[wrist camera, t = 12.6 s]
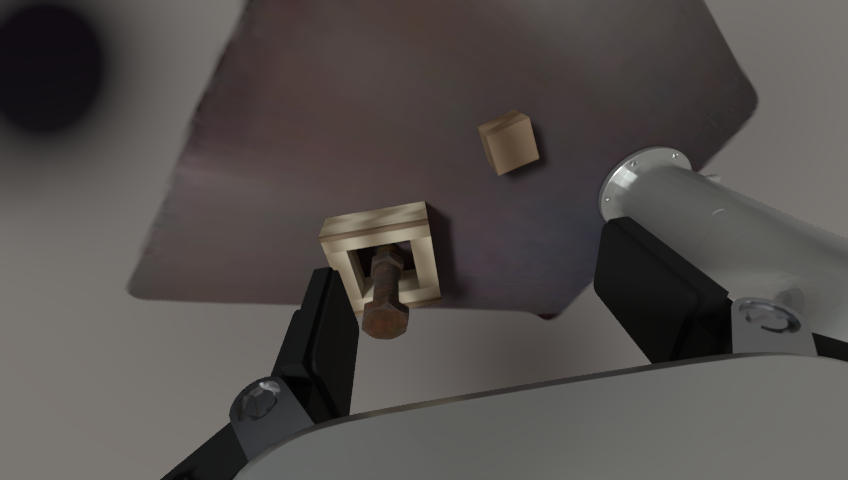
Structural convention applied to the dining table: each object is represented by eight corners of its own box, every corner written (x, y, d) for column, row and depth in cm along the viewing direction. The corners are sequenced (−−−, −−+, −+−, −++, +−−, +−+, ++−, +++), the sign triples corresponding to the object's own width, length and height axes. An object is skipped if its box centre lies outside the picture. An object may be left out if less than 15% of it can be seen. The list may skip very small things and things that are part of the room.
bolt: (413, 248, 49) (419, 321, 37) (393, 270, 51) (392, 347, 38) (381, 228, 47) (376, 298, 34) (361, 252, 49) (350, 326, 36)
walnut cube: (514, 109, 40) (529, 117, 36) (524, 146, 43) (539, 158, 38) (476, 126, 41) (486, 136, 37) (488, 162, 43) (498, 175, 39)
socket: (424, 201, 45) (428, 220, 41) (437, 279, 53) (441, 302, 48) (325, 218, 46) (317, 239, 41) (352, 293, 53) (348, 318, 48)
